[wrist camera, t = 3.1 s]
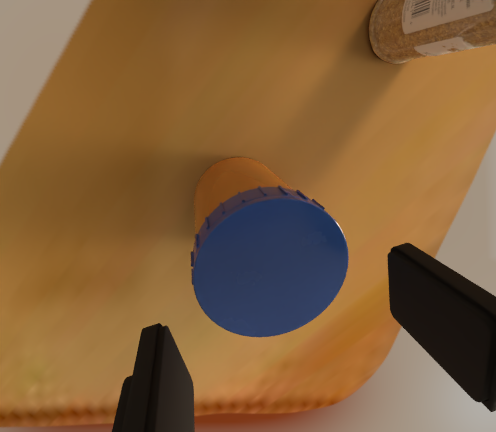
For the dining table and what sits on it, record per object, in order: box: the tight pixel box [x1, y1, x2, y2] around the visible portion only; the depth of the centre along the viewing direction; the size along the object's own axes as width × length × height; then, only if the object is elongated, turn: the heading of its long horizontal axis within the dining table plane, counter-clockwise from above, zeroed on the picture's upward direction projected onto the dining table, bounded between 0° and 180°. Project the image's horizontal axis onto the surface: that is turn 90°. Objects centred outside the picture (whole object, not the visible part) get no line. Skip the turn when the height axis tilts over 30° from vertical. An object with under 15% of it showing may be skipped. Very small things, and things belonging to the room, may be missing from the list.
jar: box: [194, 157, 293, 234], centre depth 17 cm, size 6×6×9 cm
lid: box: [191, 185, 348, 337], centre depth 13 cm, size 7×7×2 cm
